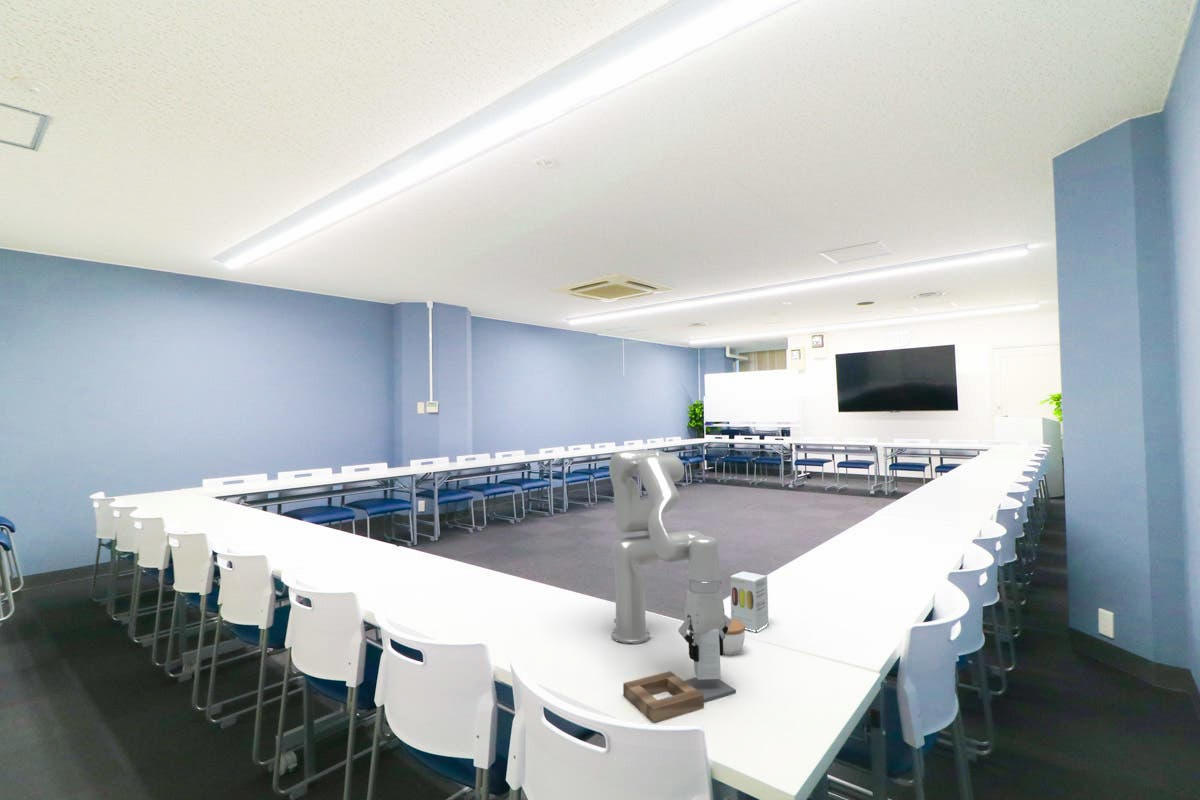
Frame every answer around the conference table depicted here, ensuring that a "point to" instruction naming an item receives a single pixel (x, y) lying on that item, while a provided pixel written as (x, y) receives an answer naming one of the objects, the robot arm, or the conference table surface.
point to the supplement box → (749, 599)
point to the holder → (665, 708)
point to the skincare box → (708, 656)
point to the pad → (711, 688)
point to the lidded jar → (734, 637)
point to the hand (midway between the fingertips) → (706, 656)
